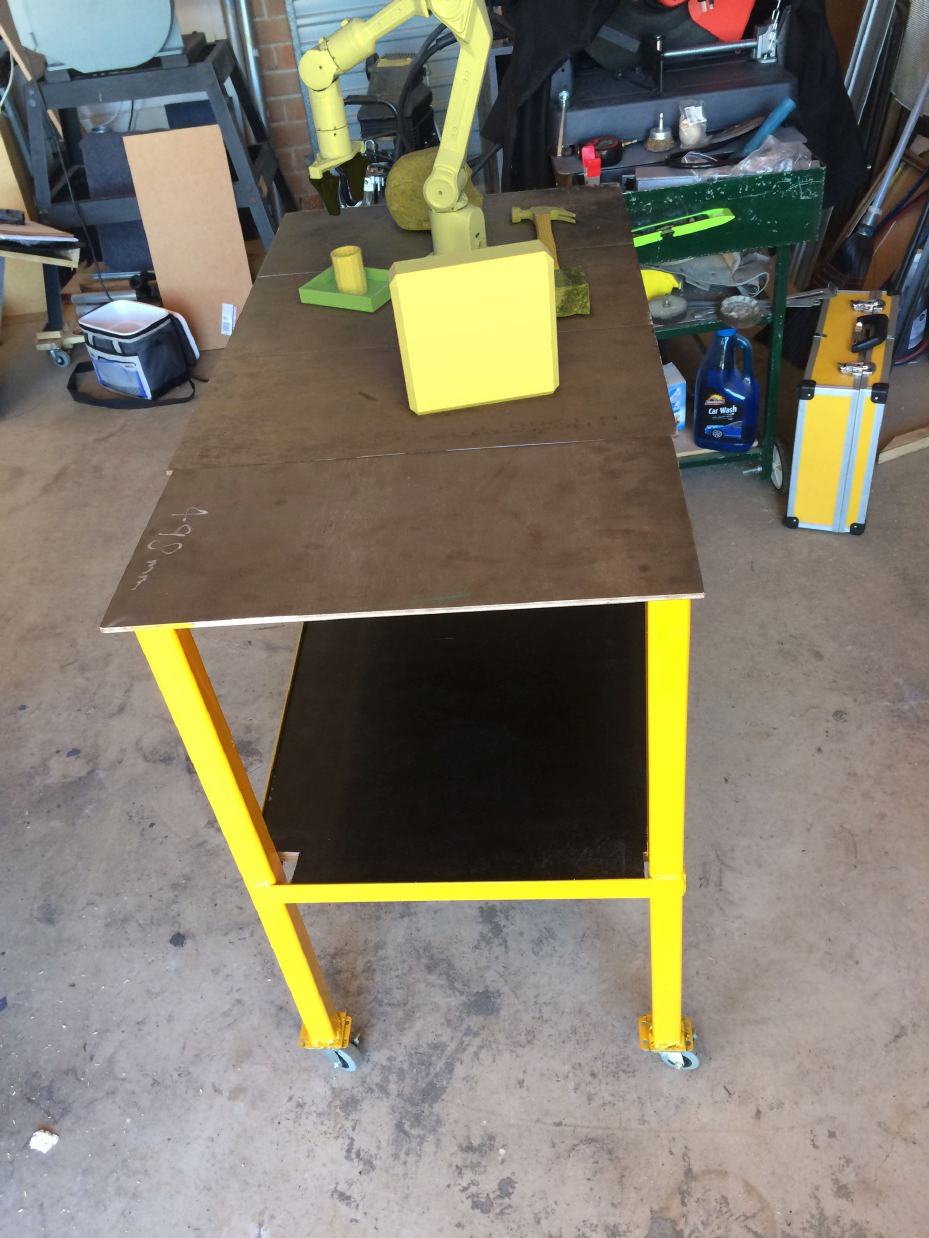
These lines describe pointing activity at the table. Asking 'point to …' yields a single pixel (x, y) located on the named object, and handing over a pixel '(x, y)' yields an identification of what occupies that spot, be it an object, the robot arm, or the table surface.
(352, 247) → the cup
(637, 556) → the table surface
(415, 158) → the stone
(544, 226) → the hammer
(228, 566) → the table surface
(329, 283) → the tray
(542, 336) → the yellow beveled square tile
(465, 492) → the table surface
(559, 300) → the stone block
